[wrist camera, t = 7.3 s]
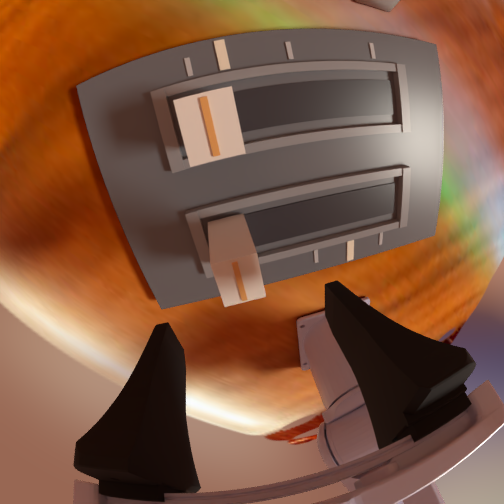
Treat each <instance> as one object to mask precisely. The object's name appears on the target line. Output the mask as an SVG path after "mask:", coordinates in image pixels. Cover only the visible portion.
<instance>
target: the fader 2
mask: <svg viewBox="0 0 504 504" xmlns="http://www.w3.org/2000/svg"><path fill="white" fill-rule="evenodd" d="M208 238H209V253H210V265H211V268H212V271H213V274H214V277H215V280H216V283H217V286H218V289H219V292H220V295H221V298H222V300H223V303H224V306H225V307H227V306H231V305H235V304H239V303H243V302H247V301H251V300H255V299H259V298H263V297H266V294H265V289H264V284H263V279H262V275H261V270H260V265H259V260H258V256H257V252H256V249H255V246H254V243H253V240H252V237H251V234H250V232H249V229H248V226H247V223H246V220H245V217H244V214H243V213H242V214H238V215H234V216H230V217H226V218H222V219H218V220H214V221H210V222H208Z"/></svg>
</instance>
